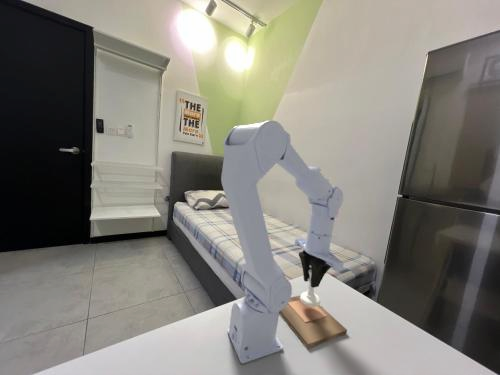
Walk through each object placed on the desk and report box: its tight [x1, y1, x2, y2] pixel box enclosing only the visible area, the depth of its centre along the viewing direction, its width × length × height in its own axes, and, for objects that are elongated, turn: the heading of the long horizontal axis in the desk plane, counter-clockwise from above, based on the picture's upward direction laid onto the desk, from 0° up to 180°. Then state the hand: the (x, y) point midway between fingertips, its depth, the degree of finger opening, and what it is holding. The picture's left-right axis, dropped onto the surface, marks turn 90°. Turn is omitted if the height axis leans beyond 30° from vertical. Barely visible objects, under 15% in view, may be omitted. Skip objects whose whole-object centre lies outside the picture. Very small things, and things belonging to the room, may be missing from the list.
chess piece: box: [300, 265, 321, 307], centre depth 51 cm, size 5×5×10 cm
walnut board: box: [279, 294, 348, 349], centre depth 50 cm, size 12×14×1 cm
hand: (311, 283), depth 51 cm, fingers closed on chess piece
